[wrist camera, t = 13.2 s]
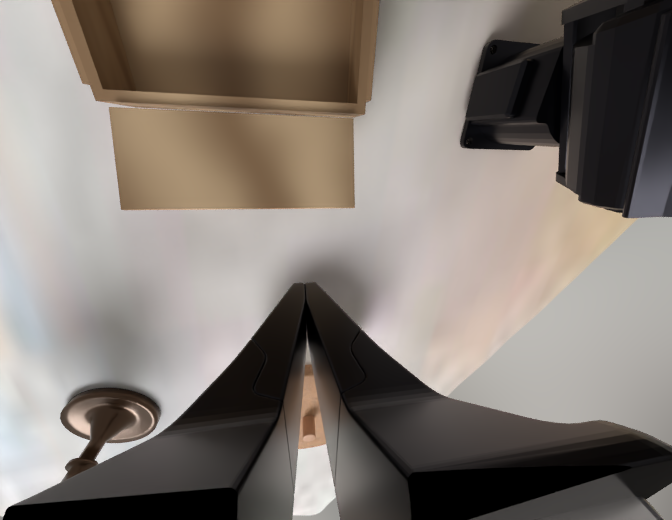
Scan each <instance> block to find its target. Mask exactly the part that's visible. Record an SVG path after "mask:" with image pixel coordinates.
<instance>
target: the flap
mask: <svg viewBox="0 0 672 520" xmlns="http://www.w3.org/2000/svg"><path fill="white" fill-rule="evenodd" d="M109 112H110V120H111V128H112V137H113V145H114V154H115V162H116V170H117V179H118V187H119V195H120V204H121V210H193V209H305V208H355V199H354V138H353V119H351V118H330V117H308V116H287V115H266V114H244V113H223V112H202V111H180V110H159V109H138V108H117V107H109Z"/></svg>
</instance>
